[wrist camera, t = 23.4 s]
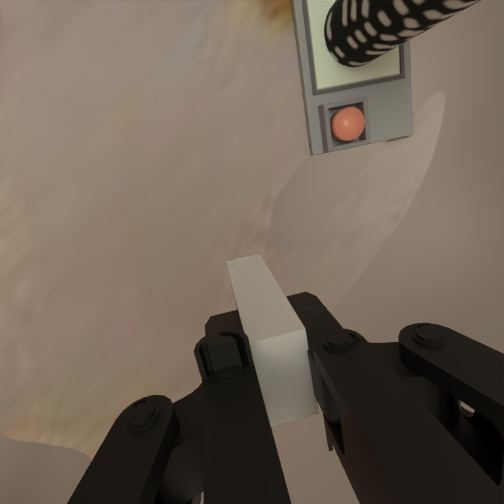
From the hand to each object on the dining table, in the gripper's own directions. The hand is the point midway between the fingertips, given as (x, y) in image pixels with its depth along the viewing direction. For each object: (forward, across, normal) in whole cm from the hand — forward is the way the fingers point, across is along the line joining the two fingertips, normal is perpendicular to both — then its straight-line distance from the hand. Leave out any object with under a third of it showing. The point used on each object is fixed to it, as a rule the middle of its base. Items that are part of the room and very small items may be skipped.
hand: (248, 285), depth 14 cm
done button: (+31, +19, +6) cm, 37 cm away
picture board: (+32, +22, +13) cm, 41 cm away
